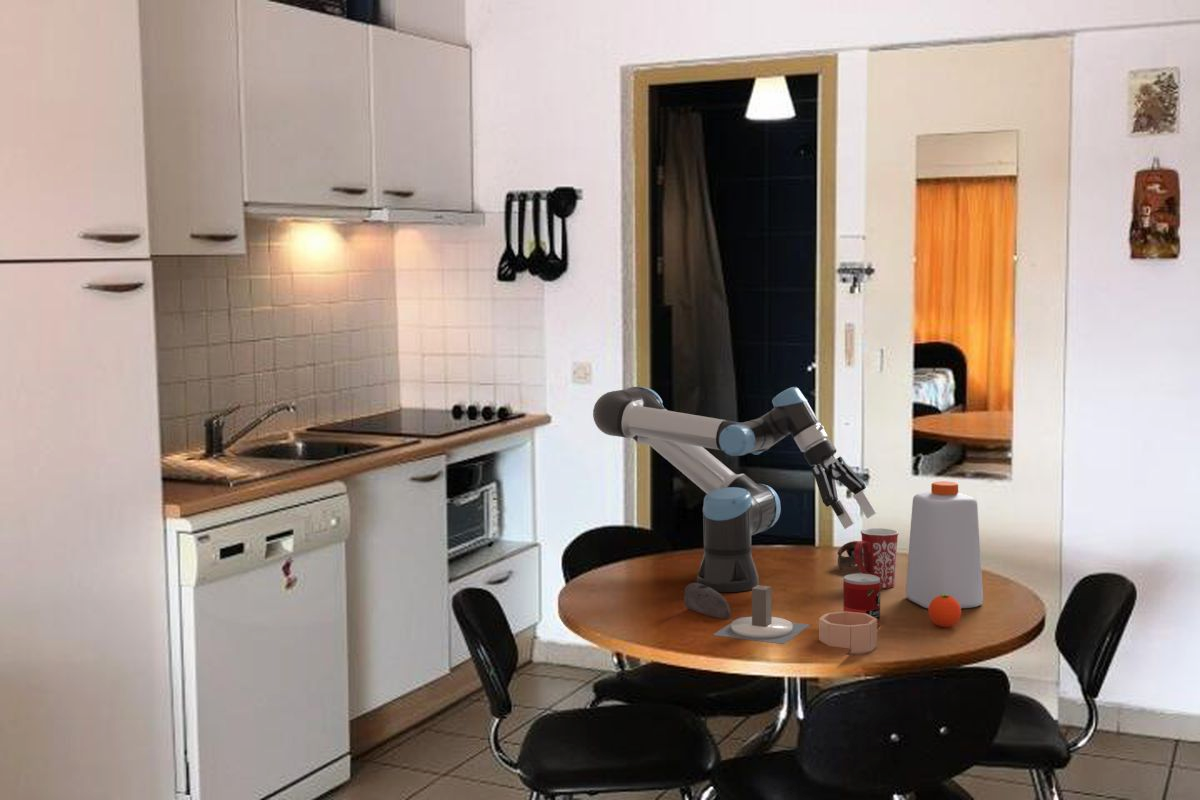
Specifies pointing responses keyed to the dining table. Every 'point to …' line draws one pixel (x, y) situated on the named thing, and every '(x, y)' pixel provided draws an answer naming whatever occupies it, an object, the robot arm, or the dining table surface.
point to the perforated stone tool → (706, 601)
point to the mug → (878, 554)
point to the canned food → (862, 594)
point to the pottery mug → (850, 551)
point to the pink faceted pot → (849, 631)
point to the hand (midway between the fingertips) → (861, 521)
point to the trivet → (781, 640)
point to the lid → (761, 618)
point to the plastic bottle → (944, 547)
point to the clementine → (944, 610)
